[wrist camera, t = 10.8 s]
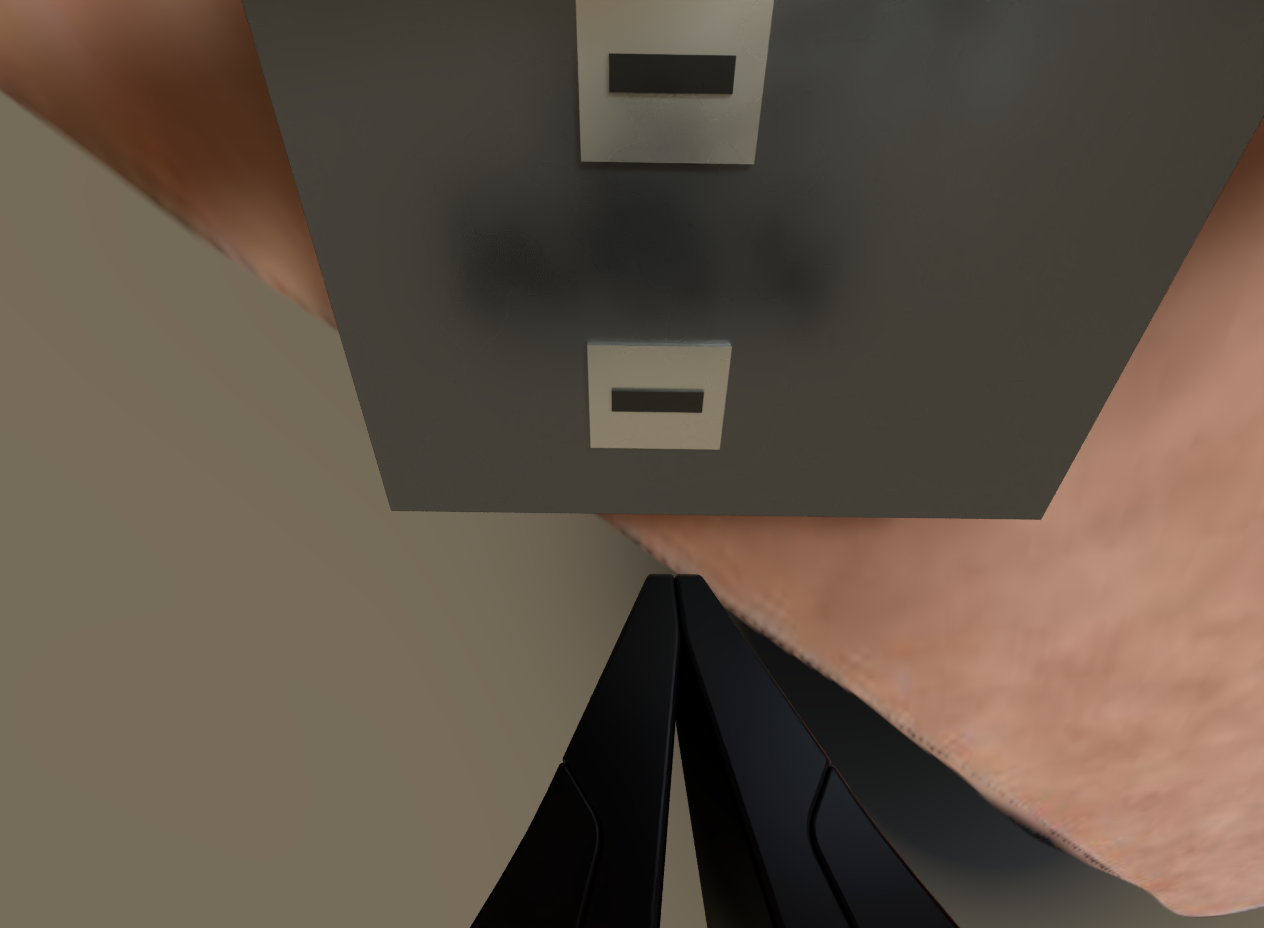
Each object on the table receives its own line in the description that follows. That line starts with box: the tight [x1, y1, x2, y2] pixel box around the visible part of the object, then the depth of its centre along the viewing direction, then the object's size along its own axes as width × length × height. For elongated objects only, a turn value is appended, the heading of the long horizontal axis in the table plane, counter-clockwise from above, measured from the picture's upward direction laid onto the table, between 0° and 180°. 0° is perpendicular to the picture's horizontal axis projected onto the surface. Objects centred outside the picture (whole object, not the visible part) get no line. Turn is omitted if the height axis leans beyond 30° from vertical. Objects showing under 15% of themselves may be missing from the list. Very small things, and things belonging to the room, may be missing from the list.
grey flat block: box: [242, 0, 1264, 520], centre depth 13 cm, size 20×18×4 cm
